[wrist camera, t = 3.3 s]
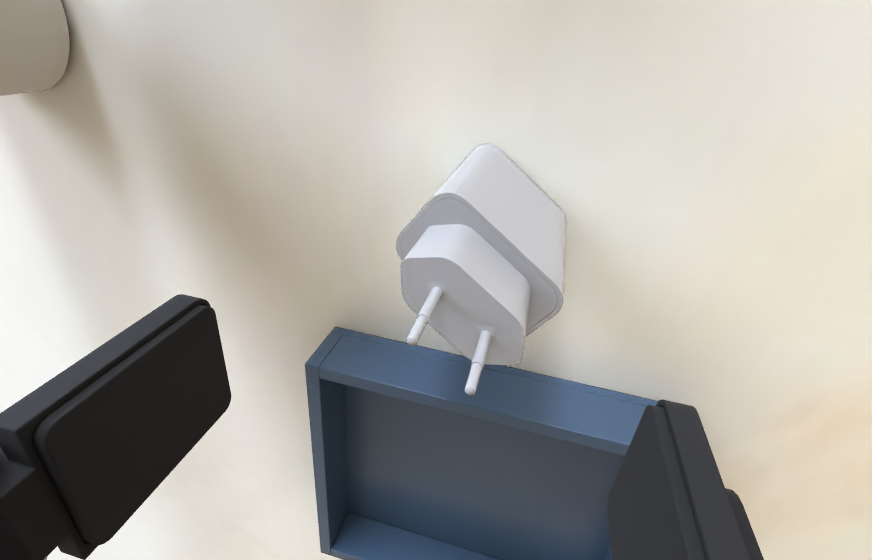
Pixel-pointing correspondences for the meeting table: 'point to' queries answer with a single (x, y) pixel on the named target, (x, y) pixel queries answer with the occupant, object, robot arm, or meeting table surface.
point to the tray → (459, 456)
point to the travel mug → (32, 45)
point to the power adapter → (484, 261)
